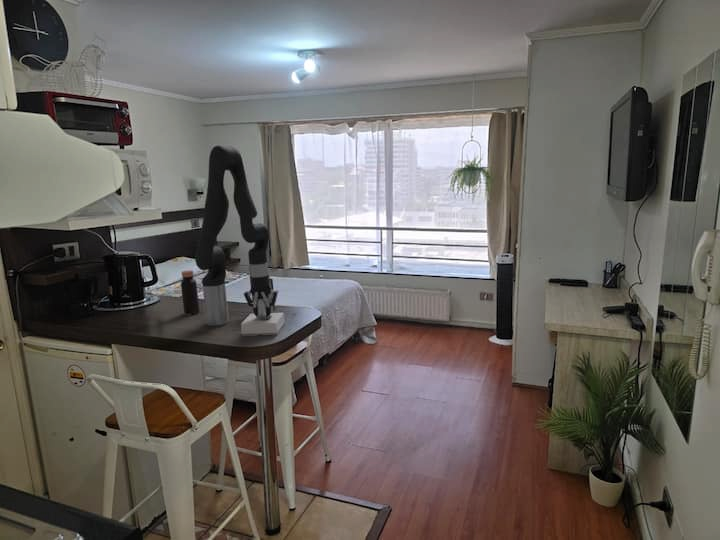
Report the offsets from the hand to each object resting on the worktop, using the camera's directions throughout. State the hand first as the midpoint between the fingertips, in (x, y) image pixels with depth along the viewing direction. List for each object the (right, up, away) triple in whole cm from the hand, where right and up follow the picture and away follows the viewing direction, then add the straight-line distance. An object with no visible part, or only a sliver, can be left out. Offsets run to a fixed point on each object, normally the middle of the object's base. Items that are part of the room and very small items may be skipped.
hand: (263, 315), depth 187 cm
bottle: (-39, -2, +30) cm, 50 cm away
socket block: (0, -6, +1) cm, 6 cm away
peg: (0, -3, +1) cm, 3 cm away
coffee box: (-5, -1, +25) cm, 26 cm away
